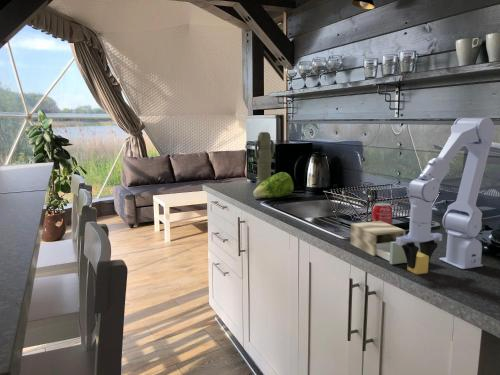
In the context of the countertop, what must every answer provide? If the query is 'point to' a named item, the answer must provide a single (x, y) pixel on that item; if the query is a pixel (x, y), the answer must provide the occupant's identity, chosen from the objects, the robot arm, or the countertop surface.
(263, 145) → the thermos
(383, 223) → the beige wooden rectangular box
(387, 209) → the soda can
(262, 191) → the lettuce
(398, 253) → the pale green drawer
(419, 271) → the block
